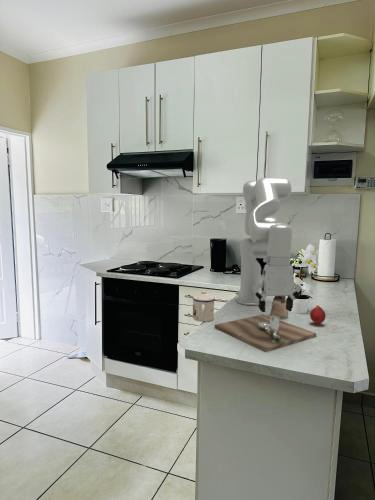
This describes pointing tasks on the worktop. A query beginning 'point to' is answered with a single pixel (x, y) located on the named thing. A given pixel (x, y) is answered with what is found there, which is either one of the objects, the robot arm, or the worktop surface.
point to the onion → (317, 315)
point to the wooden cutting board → (264, 332)
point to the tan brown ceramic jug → (279, 307)
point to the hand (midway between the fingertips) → (275, 310)
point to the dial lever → (271, 327)
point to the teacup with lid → (203, 307)
